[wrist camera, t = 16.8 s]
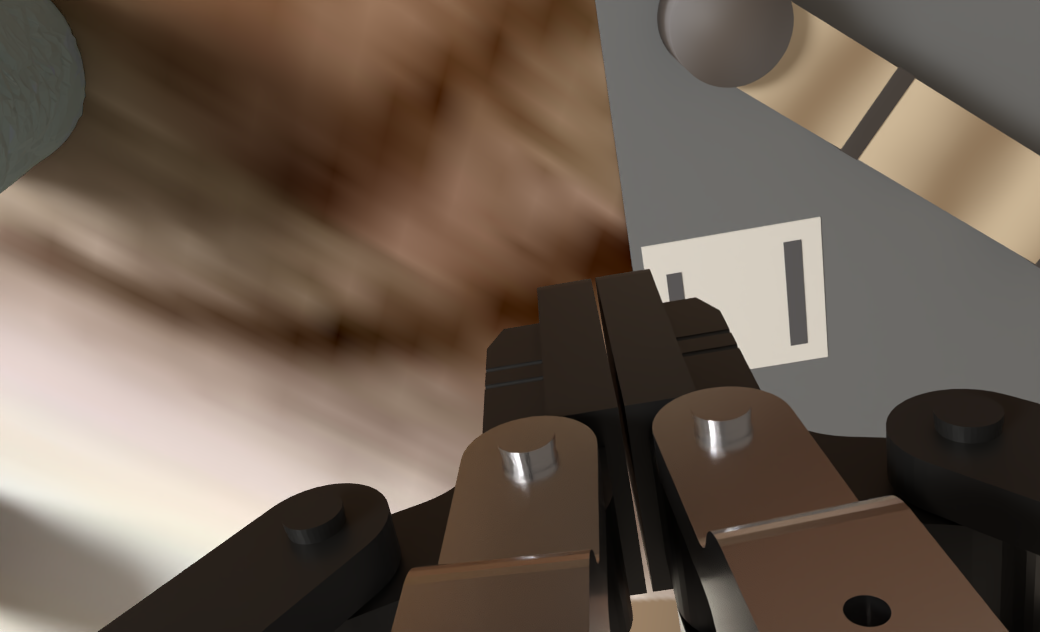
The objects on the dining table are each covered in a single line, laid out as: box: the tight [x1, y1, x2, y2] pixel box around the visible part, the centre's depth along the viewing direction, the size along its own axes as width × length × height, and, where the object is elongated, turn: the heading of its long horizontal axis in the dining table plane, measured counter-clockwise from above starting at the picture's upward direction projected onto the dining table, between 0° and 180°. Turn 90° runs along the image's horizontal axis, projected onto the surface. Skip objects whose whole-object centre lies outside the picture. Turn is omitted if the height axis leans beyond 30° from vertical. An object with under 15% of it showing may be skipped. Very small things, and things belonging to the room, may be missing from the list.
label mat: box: [595, 0, 1040, 438], centre depth 42 cm, size 24×28×1 cm
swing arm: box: [657, 0, 1040, 268], centre depth 38 cm, size 23×4×4 cm, turn 61°
